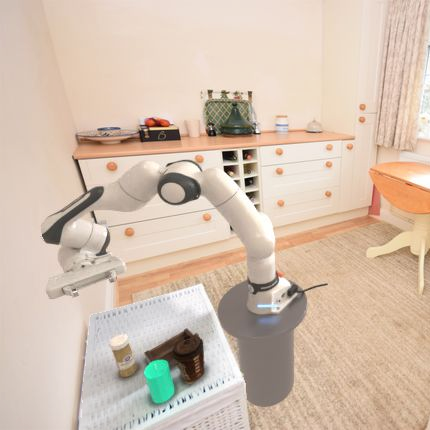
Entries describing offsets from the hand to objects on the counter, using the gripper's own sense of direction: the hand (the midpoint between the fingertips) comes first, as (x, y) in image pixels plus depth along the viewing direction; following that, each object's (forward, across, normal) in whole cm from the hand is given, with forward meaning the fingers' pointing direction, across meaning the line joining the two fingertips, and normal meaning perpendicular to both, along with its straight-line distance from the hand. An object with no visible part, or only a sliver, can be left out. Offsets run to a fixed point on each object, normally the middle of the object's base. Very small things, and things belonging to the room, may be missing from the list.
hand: (94, 287), depth 87 cm
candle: (+27, +4, +26) cm, 38 cm away
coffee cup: (+28, +13, +26) cm, 40 cm away
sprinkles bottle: (+12, 0, +26) cm, 29 cm away
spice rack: (+16, +12, +26) cm, 33 cm away
